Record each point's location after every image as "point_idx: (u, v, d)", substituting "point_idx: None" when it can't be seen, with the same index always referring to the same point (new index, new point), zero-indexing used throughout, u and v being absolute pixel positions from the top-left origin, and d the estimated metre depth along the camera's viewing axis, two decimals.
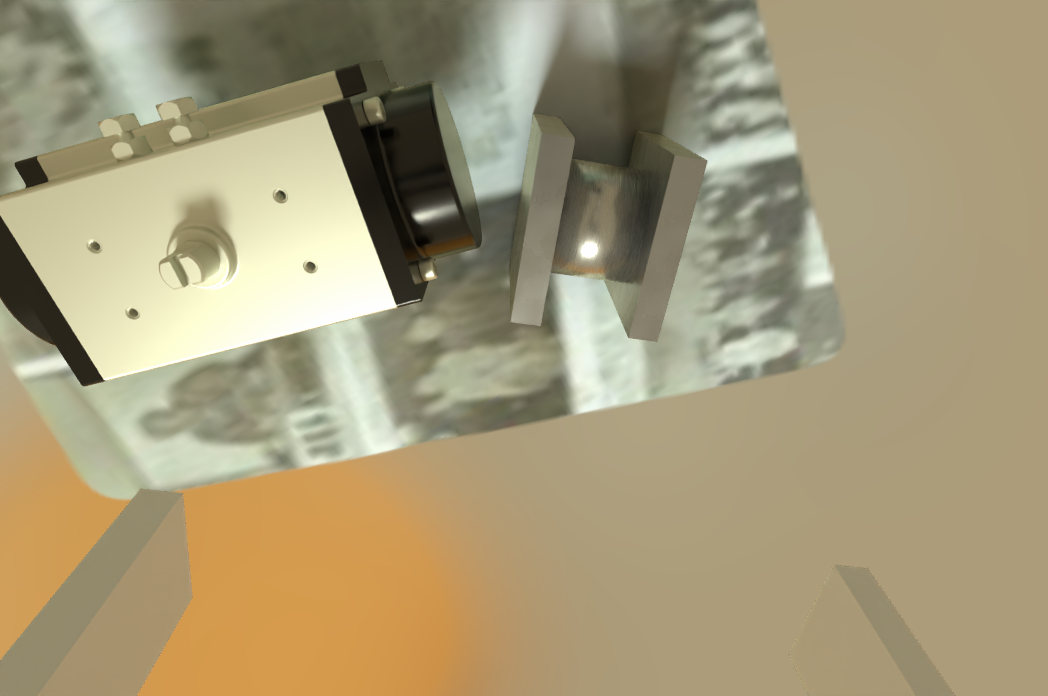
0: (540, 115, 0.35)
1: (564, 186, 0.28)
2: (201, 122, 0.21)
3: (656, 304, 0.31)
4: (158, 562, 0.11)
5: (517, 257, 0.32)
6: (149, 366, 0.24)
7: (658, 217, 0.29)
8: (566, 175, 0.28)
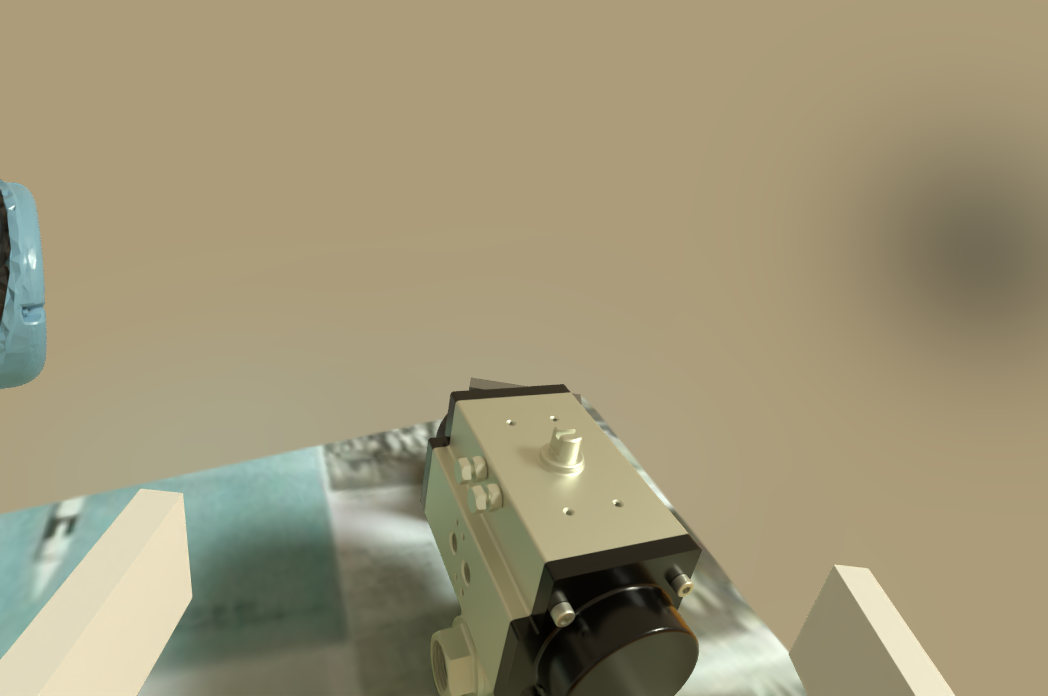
0: None
1: None
2: (470, 461, 0.31)
3: None
4: (158, 562, 0.11)
5: None
6: (662, 504, 0.29)
7: None
8: None
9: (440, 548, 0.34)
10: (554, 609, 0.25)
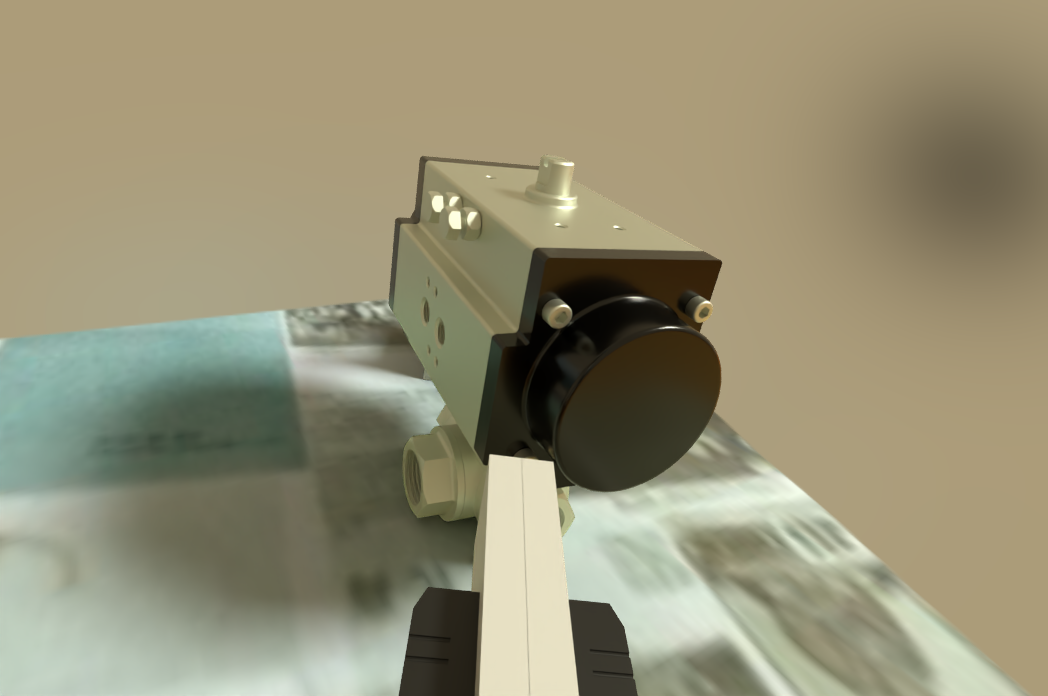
0: (424, 368, 0.43)
1: None
2: None
3: None
4: None
5: None
6: (671, 234, 0.25)
7: None
8: None
9: (411, 335, 0.29)
10: (546, 305, 0.20)
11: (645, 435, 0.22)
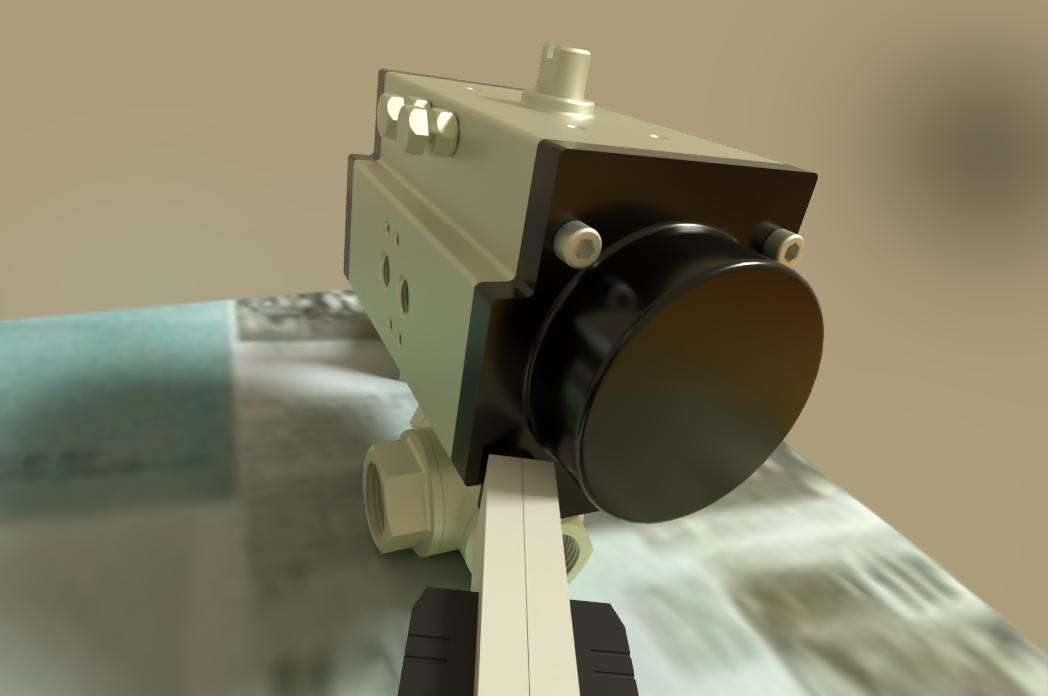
0: None
1: None
2: None
3: None
4: None
5: None
6: (732, 148, 0.17)
7: None
8: None
9: (369, 307, 0.22)
10: (561, 231, 0.12)
11: (712, 437, 0.14)
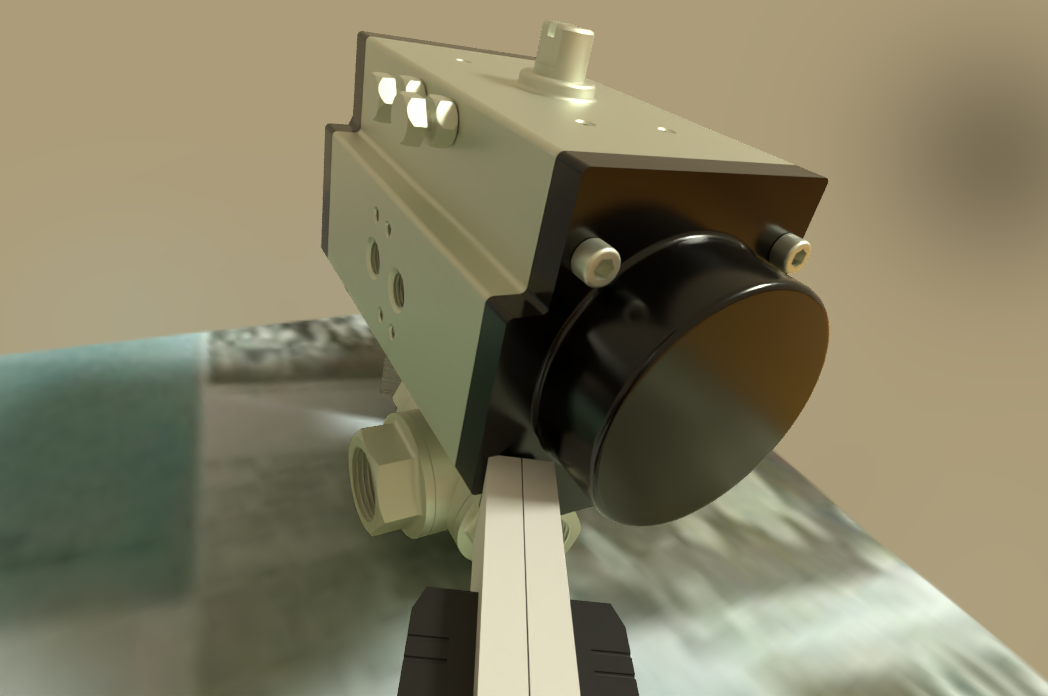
0: None
1: None
2: None
3: None
4: None
5: None
6: (738, 142, 0.17)
7: None
8: None
9: (353, 291, 0.21)
10: (580, 249, 0.12)
11: (717, 445, 0.14)
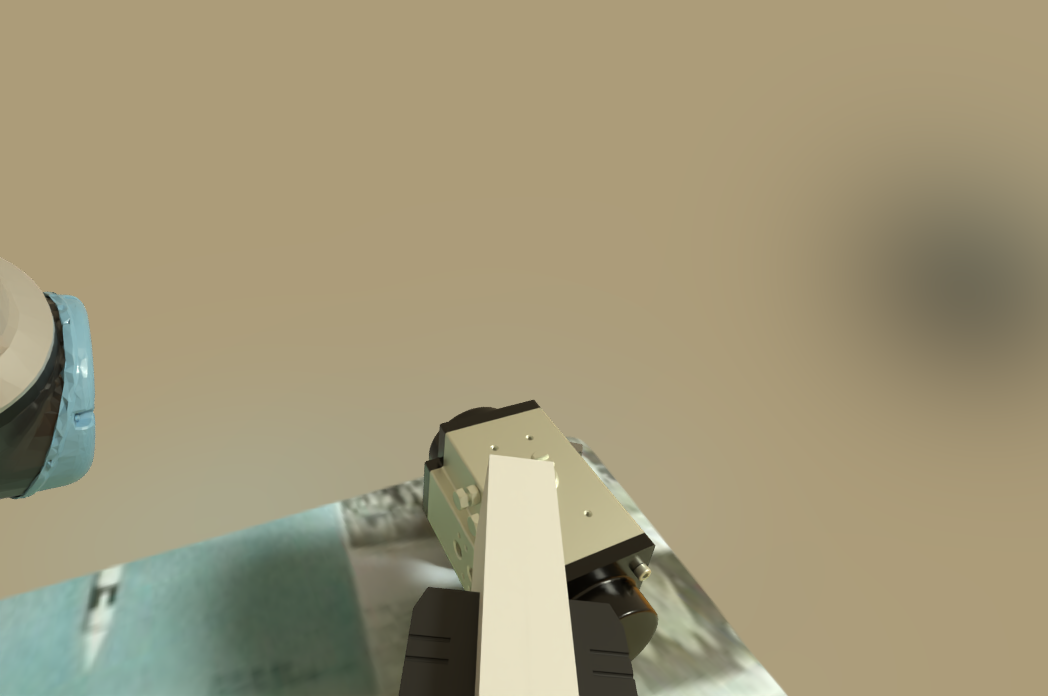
0: None
1: None
2: None
3: None
4: None
5: None
6: (622, 508, 0.37)
7: None
8: None
9: (446, 551, 0.42)
10: None
11: None
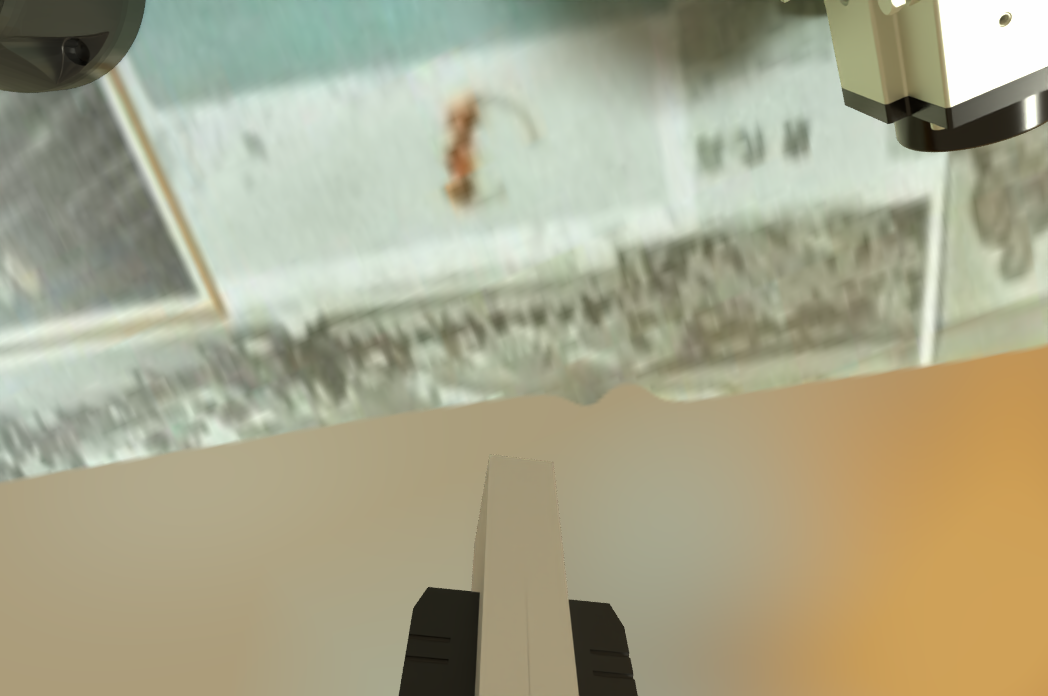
0: None
1: None
2: None
3: None
4: None
5: None
6: None
7: None
8: None
9: None
10: None
11: None
